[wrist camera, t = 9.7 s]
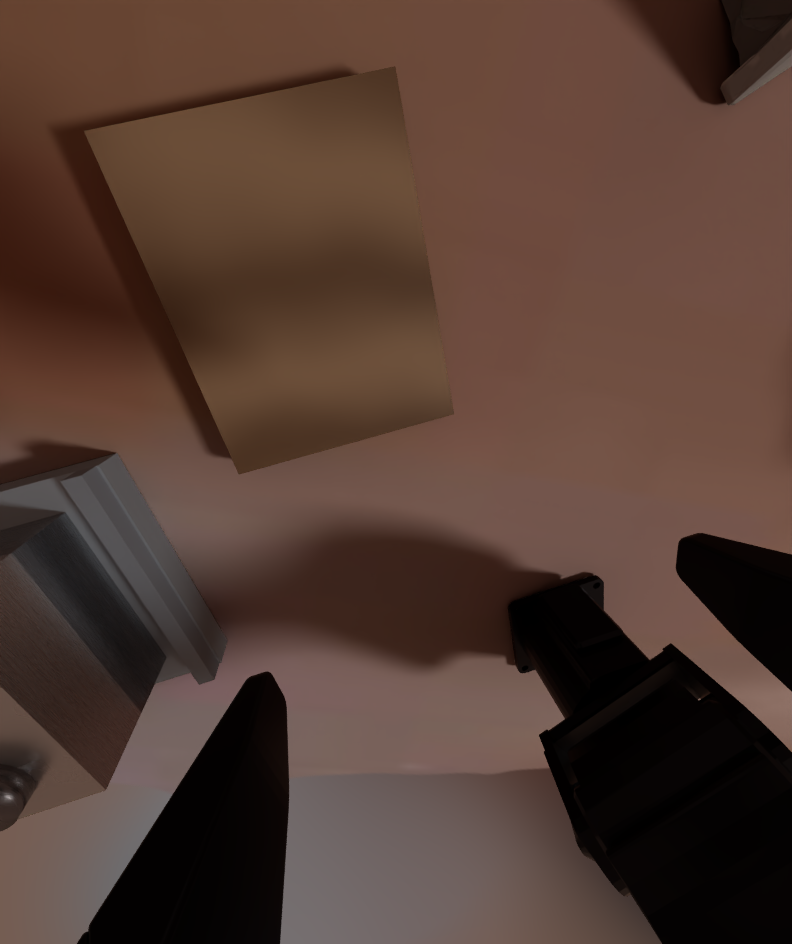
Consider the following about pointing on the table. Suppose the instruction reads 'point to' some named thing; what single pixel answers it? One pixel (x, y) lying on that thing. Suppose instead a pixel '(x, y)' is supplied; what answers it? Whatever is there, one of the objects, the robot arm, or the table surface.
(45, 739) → the grey drawer
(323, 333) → the stand
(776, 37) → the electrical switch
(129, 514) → the cabinet frame
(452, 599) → the table surface
